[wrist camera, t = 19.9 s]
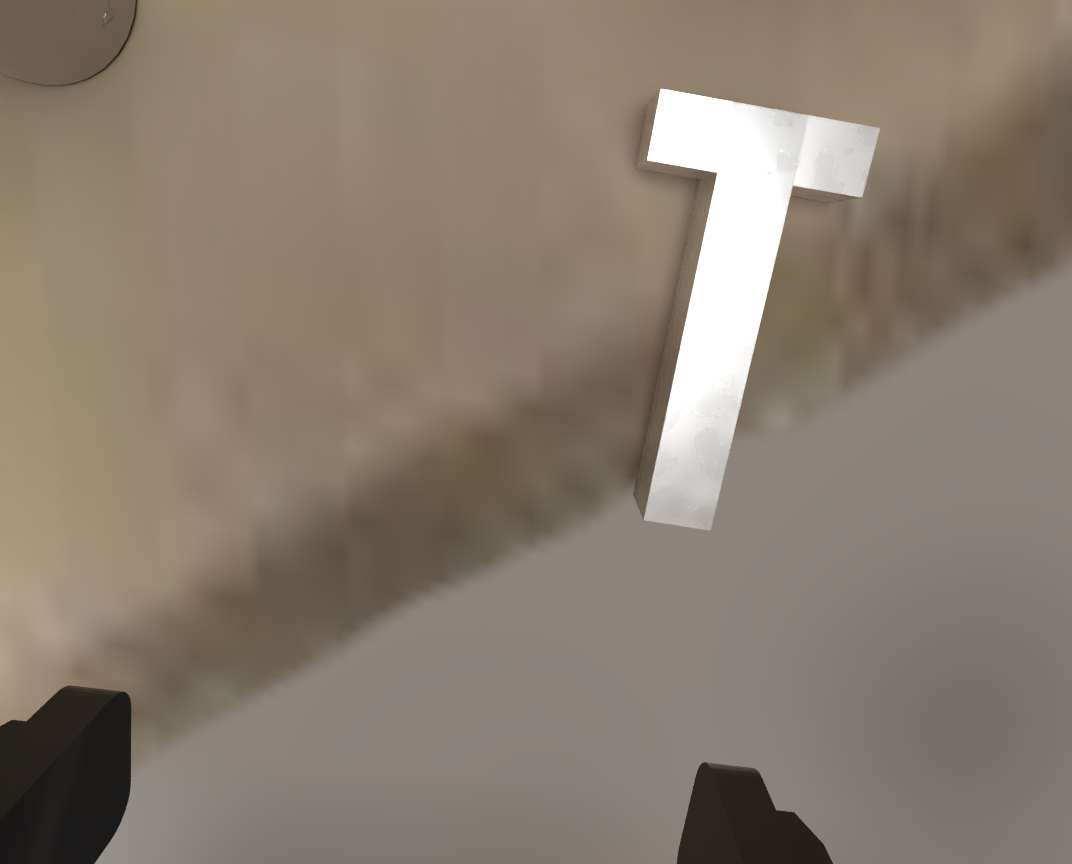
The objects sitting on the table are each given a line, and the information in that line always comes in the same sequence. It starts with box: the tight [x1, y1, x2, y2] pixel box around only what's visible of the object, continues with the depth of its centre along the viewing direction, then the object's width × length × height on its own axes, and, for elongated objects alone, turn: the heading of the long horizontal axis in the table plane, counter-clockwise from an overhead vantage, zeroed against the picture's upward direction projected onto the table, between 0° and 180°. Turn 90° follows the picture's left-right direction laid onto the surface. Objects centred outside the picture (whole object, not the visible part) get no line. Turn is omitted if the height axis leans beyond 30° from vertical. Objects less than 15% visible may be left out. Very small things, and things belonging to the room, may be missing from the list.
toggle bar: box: [633, 89, 880, 530], centre depth 37 cm, size 20×10×4 cm, turn 171°
